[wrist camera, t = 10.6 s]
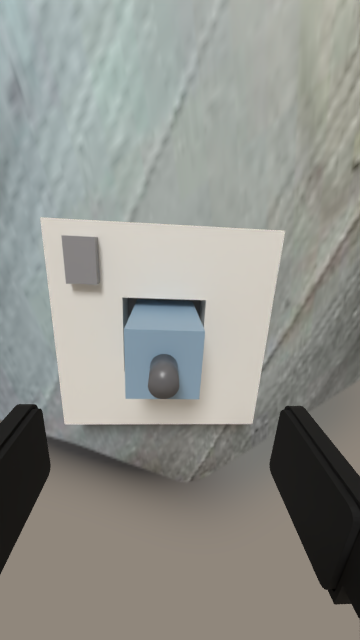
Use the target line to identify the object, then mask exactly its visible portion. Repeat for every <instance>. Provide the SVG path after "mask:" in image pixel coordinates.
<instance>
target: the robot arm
mask: <svg viewBox="0 0 360 640" xmlns="http://www.w3.org/2000/svg"><path fill="white" fill-rule="evenodd" d="M270 471H271V474H272V476H273V479H274V481H275V483H276V486H277V488H278V490H279V492H280V495H281V497H282V499H283V501H284V504H285V506H286V508H287V510H288V513H289V515H290V517H291V519H292V521H293V524H294V526H295V528H296V531H297V533H298V535H299V537H300V540H301V542H302V544H303V546H304V549H305V551H306V553H307V555H308V558H309V560H310V562H311V564H312V566H313V569H314V571H315V574H316V576H317V578H318V580H319V582H320V584H321V586H322V587H323V588H324V589H326V590H328V592H329V594H330V596H331V598H332V600H333V602H334V604H352V606H353V608H354V610H355V612H356V613H357V615H358V617H359V618H360V476H359V475H358V474H357V473H356V471H355V470H354V469H353V468H352V466H351V465H350V464H349V463H348V461H347V460H346V459H345V458H344V456H343V455H342V454H341V453H340V451H339V450H338V449H337V448H336V447H335V445H334V444H333V443H332V442H331V440H330V439H329V438H328V437H327V435H326V434H325V433H324V432H323V430H322V429H321V428H320V427H319V425H318V424H317V423H316V422H315V421H314V419H313V418H312V417H311V415H310V414H309V413H308V412H307V411H306V409H305V408H304V407H302V406H286V407H285V409H284V410H282V411H281V412H280V417H279V421H278V426H277V431H276V435H275V441H274V445H273V450H272V454H271V459H270ZM49 472H50V458H49V452H48V445H47V439H46V432H45V426H44V419H43V413H42V410H41V409H38V407H37V405H35V404H19V405H16V406H15V407H14V408H13V410H12V411H11V412H10V413H9V414H8V415H7V416H6V417H5V419H4V420H3V421H2V422H1V423H0V574H1V572H2V570H3V568H4V566H5V564H6V562H7V559H8V557H9V555H10V553H11V551H12V549H13V547H14V545H15V543H16V541H17V539H18V537H19V535H20V533H21V531H22V529H23V527H24V525H25V523H26V521H27V519H28V517H29V515H30V513H31V511H32V508H33V506H34V504H35V502H36V500H37V498H38V496H39V494H40V492H41V490H42V488H43V486H44V484H45V482H46V480H47V477H48V476H49Z"/></svg>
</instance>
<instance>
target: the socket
mask: <svg viewBox="0 0 360 640" xmlns="http://www.w3.org/2000/svg"><path fill="white" fill-rule="evenodd" d="M40 219H41V228H42V236H43V245H44V253H45V262H46V270H47V278H48V287H49V295H50V304H51V312H52V321H53V329H54V337H55V346H56V354H57V363H58V371H59V380H60V388H61V397H62V405H63V413H64V422H65V424H252V423H253V417H254V411H255V405H256V399H257V394H258V388H259V382H260V376H261V370H262V364H263V358H264V352H265V346H266V341H267V335H268V329H269V323H270V317H271V311H272V305H273V299H274V294H275V288H276V282H277V276H278V270H279V264H280V258H281V252H282V247H283V241H284V235H285V231H279V230H261V229H243V228H224V227H206V226H187V225H169V224H150V223H132V222H114V221H95V220H77V219H58V218H40ZM137 299H148V300H177V301H192V302H193V304H194V306H195V309H196V311H197V313H198V316H199V318H200V320H201V323H202V325H203V327H204V330H205V339H204V350H203V362H202V373H201V385H200V396H199V399H125V353H124V328H125V326H126V324H127V321H128V319H129V317H130V315H131V312H132V310H133V308H134V306H135V303H136V301H137Z"/></svg>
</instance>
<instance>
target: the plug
mask: <svg viewBox="0 0 360 640" xmlns="http://www.w3.org/2000/svg"><path fill="white" fill-rule="evenodd" d="M204 339H205V330H204V327H203V325H202V323H201V320H200V318H199V316H198V313H197V311H196V309H195V306H194V304H193V302H192V301H177V300H148V299H137V301H136V303H135V306H134V308H133V310H132V312H131V315H130V317H129V319H128V321H127V324H126V326H125V328H124V353H125V399H199V396H200V385H201V373H202V362H203V350H204Z"/></svg>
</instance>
